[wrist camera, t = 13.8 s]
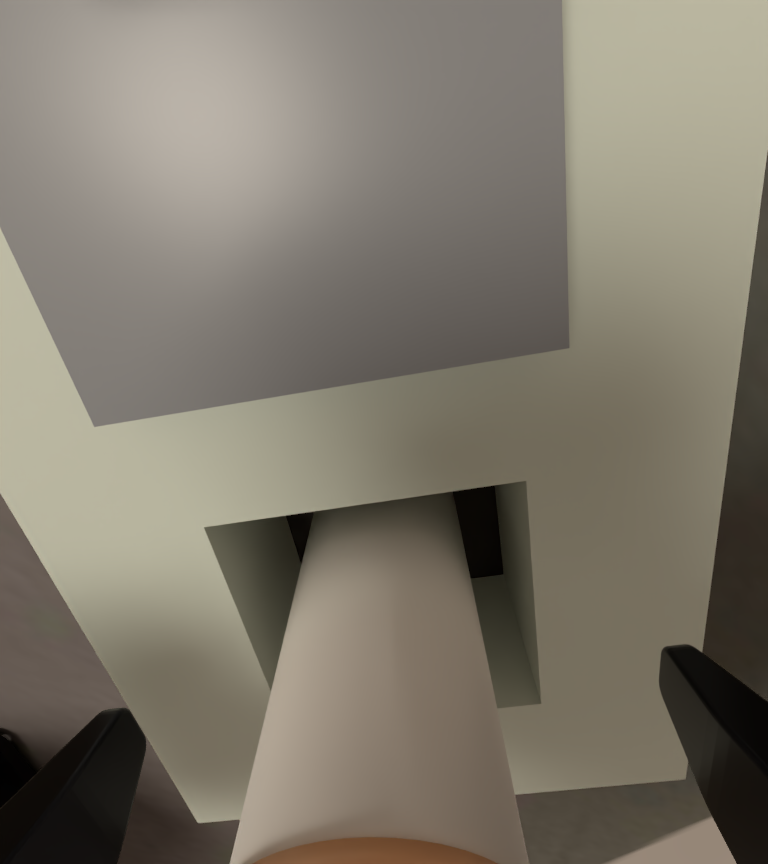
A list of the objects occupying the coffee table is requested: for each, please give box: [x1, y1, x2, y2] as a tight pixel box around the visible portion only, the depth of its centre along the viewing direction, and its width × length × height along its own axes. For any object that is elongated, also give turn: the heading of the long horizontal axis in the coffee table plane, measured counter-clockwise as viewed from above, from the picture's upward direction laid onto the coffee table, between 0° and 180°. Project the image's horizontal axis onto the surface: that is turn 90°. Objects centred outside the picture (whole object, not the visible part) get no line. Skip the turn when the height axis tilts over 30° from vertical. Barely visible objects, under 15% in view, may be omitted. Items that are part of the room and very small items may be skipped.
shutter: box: [0, 0, 569, 427], centre depth 4 cm, size 7×7×4 cm
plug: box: [230, 491, 529, 864], centre depth 9 cm, size 4×4×9 cm
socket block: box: [0, 0, 768, 823], centre depth 10 cm, size 18×12×4 cm, turn 10°
